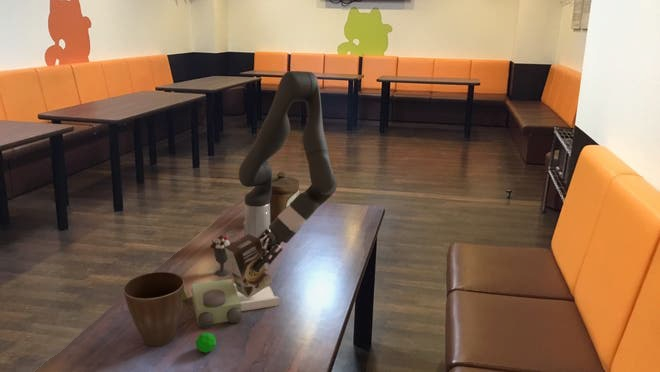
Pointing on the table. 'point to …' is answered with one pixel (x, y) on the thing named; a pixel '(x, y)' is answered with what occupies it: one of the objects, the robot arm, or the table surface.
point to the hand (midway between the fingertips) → (251, 264)
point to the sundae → (221, 253)
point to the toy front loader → (226, 302)
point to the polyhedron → (205, 342)
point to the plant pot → (155, 305)
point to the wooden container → (282, 194)
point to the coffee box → (247, 265)
